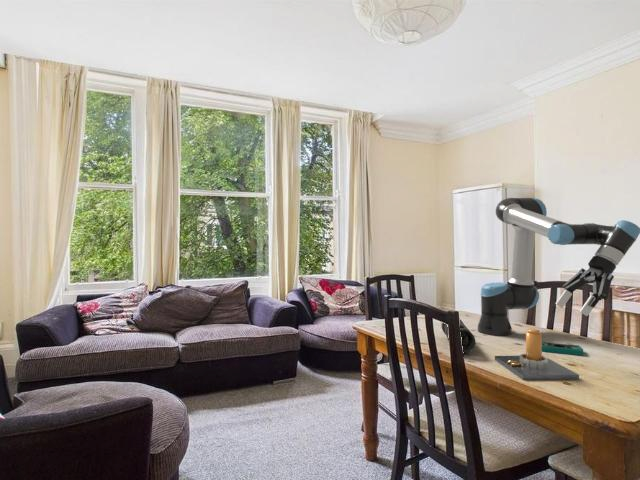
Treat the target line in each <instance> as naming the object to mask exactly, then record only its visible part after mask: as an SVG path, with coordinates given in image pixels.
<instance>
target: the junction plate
mask: <svg viewBox="0 0 640 480" xmlns="http://www.w3.org/2000/svg"><path fill="white" fill-rule="evenodd" d="M494 361H495V362H497V363H498V364H499V365H501V366H503V368H506V369H507V370H509V372H511V373H512V374H514V375H516V376H517V377H518V378H520V379H521V380H523V381H526V380H527V381H528V380H531V381H532V380H533V381H534V380H535V381H537V380H538V381H539V380H541V381H542V380H545V381H546V380H547V381H549V380H551V381H552V380H553V381H554V380H556V381H557V380H559V381H561V380H580V374H578V373H577V372H575V371H573V370H571V369H569V368H567V367H565V366H563V365H562V364H560V363H557V362H556V361H554V360H552V359H550V358H548V357H547V356H545V355H542V361H536V360H529V359H526V353H522V354H519V355H494Z"/></svg>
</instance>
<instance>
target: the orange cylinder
mask: <svg viewBox="0 0 640 480" xmlns="http://www.w3.org/2000/svg"><path fill="white" fill-rule="evenodd" d="M542 335H543V334H542V332H541V331H540V330H539V329H535V328H527V331H525V354H526V359H529V360H536V361H542V356H543V355H542V353H543V351H542V342H543V341H542Z"/></svg>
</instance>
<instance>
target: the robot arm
mask: <svg viewBox="0 0 640 480" xmlns="http://www.w3.org/2000/svg"><path fill="white" fill-rule="evenodd" d="M495 215H496V217H497V219H498V220H499V221H501V222H502V223H505V224H507V225H511V226H512V227H513V229H514V239H513V250H512V251H513V252H512V263H511V276H510V278H509V279H508V280H507V282H506V283H505V282H489V283H485V284H483V285H482V287H481V290H480V298H481V300H480V301H481V302H480V303H481V304H480V306H481V307H480V308H481V309H480V311H481V312H480V313H481V315H480V317H479V321H478V323H477V332H479V333H481V334H485V335H491V336H492V335H493V336H510V335H511V334H512V333H513V328H512V325H511V322H510V320H509V316H508V315H509V312H508V311H509V310H528V309H531V308H533V307H535V306H536V305H537V304H538V302H539V301H540V300H539V299H540V292H539V289H538V288H537V287H536V286H535V282H534V281H533V280H532V274H533V273H532V271H533V261H534V260H533V259H534V250H535V237H536V234H538V235H541V236H542V237H546V238H548V240H549V241H550V243H551V244H553V245H560V246H567V245H597V246H599V248H598V249H597V250H596V252H595V253H594V256H592V258H591V259H590V260H589V261H588V264H587V265H588V269H587V270H586V269H585V268H580V270H579V271H578V272H577V273H576V274H574V275H573V276H572V277H571V278H570V279H569V280H568V281H566V282H565V283H564V284H563V285H562V288H563V292H562V293H561V295H560V296H559V298H558V299H557V301H555V305H556V306H558V307H560V309H564V306H565V305H566V304H567V302H568V301H569V300H570V298H571V297H572V295H573V292H575V291H577V290H578V289H580V288H581V287H583V286H584V285H589V284H592V294H591V295H589V297H588V298H587V300H586V301H585V302H584V304H583V305H582V307H581V308H580V309H579V312H580V313H581V314H582V315H584V316H586V317H588V316H589V314H591V312H592V310H593V309H594V308H595V307H596V306H597V304H598V303H599V302H600V301H602V300H604V301H606V300H607V299H608V297H609V292H610V288H611V285H612V281H613V279H614V278H615V276H614V275H613V272H614V271H615V270H616V268H617V266H618V265H619V264H620V262H621V261H622V259H623V258H624V257H625V255H626V254H627V252H628V251H629V250H630V248H631V247H632V245H634V243H635V242H636V241H637V239H638V238H639V235H640V226H638V225H637V224H636V223H633V222H631V221H629V220H624V219H623V220H619V221H618V220H617V222H616V223H614V225H604V224H596V223H593V222H592V223H591V222H590V223H588V222H587V223H582V224H581V223H580V224H579V223H577V224H571V223H568V222H567V223H566V222H564V221H561V220H558V219H556V218H552V217H549V216H547V207H546V205H545V203H544V202H543V200H541V199H539V198H535V197H508V198H504V199H501V200H500V202H498V204H497V205H496V208H495Z"/></svg>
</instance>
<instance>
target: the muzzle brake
mask: <svg viewBox="0 0 640 480" xmlns="http://www.w3.org/2000/svg"><path fill="white" fill-rule="evenodd" d="M441 330H442V332H443V333H444V335H445V336H446V337H447V338H448V327H447V325H446V324H444V323H442V322H441ZM460 332H461V337H462V346H463V352H464V354H463V355H465V354H466V353H469V352H470V351H472V350H473V349H474V348H475V347H476V346H475V345H476V338H475V335H474V334H473V332H471V331H470V329H469V328H468V327H467V326H466V324H464V322H463V321H462V319H460Z"/></svg>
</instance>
